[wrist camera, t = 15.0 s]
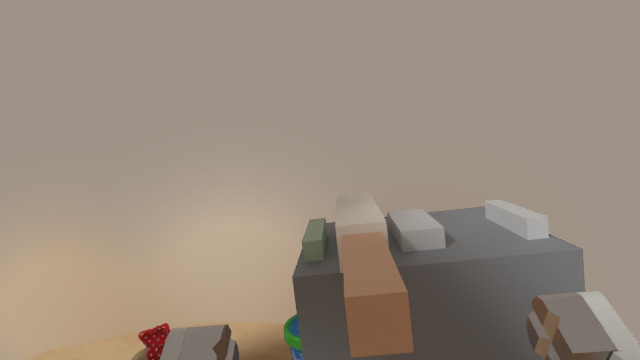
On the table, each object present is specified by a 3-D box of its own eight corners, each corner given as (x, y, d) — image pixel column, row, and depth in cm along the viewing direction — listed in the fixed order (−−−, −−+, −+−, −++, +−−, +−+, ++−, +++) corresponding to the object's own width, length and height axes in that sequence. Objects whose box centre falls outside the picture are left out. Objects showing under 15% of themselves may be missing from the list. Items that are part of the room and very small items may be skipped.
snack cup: (305, 360, 64) (298, 299, 63) (371, 359, 62) (364, 296, 61) (278, 431, 49) (267, 352, 48) (364, 433, 47) (354, 351, 46)
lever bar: (424, 351, 15) (416, 275, 15) (340, 358, 15) (331, 283, 15) (372, 222, 39) (369, 192, 39) (340, 226, 39) (336, 195, 39)
